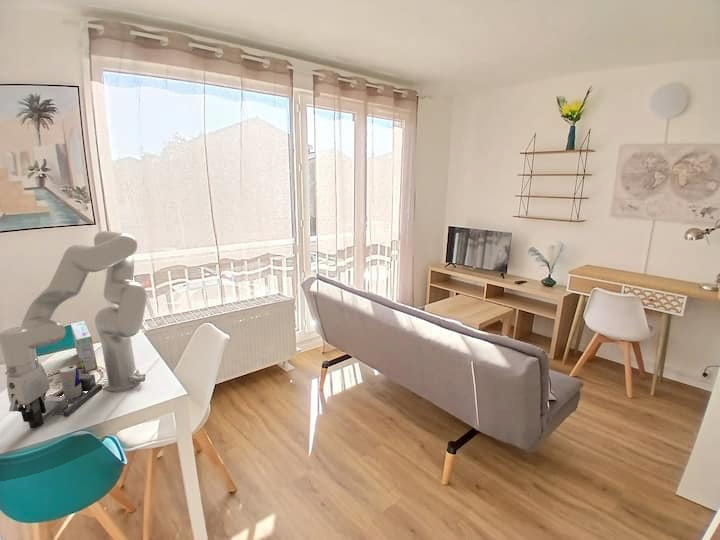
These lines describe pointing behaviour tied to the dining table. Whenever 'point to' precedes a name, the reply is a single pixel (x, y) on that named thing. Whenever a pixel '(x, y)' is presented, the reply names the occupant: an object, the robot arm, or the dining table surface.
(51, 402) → the ram
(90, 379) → the press
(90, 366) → the snack box
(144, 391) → the dining table surface
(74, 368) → the energy drink
